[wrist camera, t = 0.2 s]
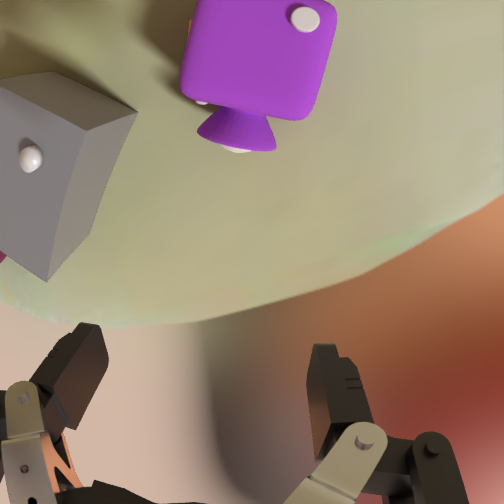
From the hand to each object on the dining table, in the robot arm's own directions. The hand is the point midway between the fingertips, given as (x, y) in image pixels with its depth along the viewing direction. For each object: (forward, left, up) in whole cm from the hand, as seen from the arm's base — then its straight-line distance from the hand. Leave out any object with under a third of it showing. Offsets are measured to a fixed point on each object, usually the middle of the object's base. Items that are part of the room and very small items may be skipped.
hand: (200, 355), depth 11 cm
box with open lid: (+8, -18, -22) cm, 30 cm away
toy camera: (-9, -4, -23) cm, 25 cm away
